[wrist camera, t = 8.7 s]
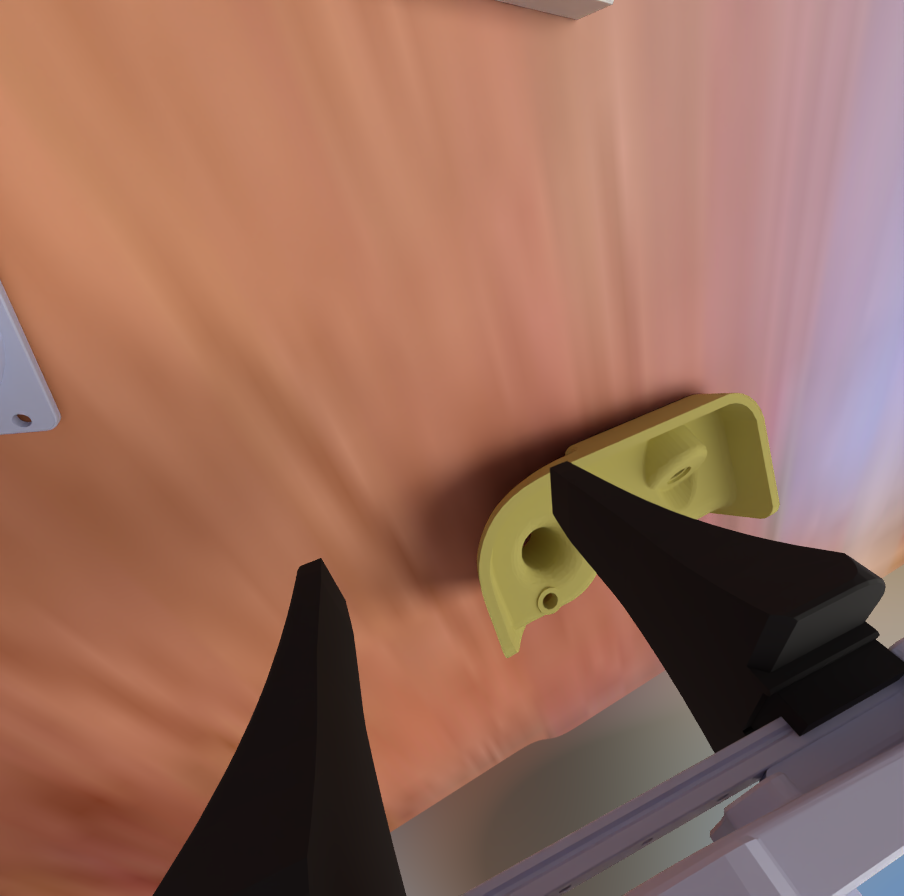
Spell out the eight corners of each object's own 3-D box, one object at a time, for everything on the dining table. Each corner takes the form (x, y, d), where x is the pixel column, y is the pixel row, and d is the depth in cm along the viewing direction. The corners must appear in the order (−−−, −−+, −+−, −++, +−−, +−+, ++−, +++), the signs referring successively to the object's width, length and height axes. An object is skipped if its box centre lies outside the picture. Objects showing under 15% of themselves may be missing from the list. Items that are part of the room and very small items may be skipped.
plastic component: (757, 381, 26) (785, 533, 28) (662, 386, 33) (689, 506, 35) (454, 512, 21) (513, 685, 23) (419, 485, 28) (466, 619, 30)
